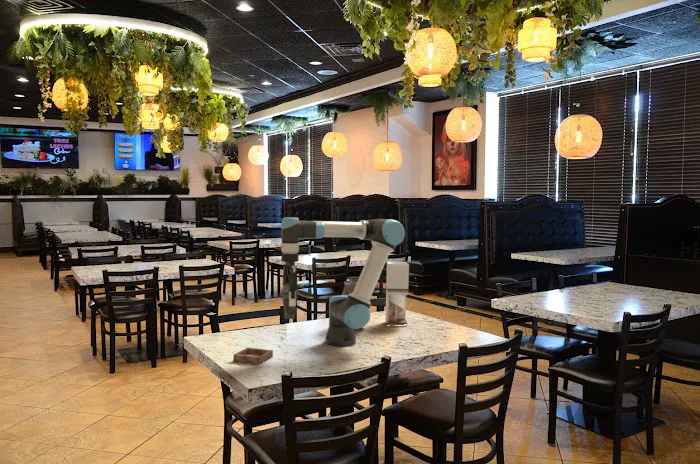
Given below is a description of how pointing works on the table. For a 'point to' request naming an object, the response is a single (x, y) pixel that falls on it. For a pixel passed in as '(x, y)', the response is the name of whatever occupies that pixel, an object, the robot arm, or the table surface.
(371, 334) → the table surface
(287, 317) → the beverage cup
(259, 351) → the wooden tray
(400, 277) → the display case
